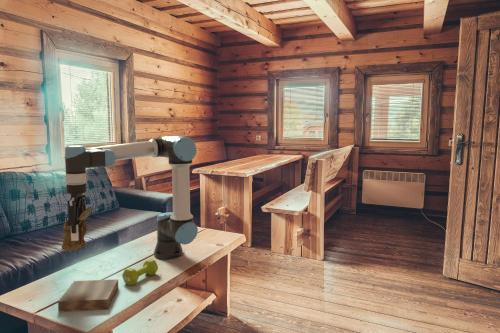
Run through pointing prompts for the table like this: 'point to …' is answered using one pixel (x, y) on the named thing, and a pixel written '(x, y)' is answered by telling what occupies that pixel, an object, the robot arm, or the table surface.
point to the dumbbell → (139, 272)
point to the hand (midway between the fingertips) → (78, 237)
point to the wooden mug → (81, 223)
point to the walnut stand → (88, 295)
